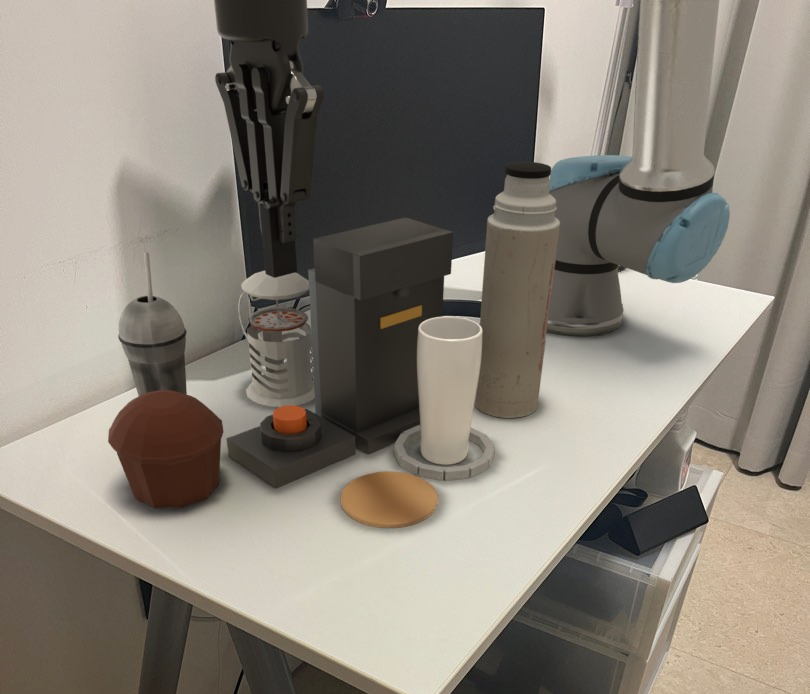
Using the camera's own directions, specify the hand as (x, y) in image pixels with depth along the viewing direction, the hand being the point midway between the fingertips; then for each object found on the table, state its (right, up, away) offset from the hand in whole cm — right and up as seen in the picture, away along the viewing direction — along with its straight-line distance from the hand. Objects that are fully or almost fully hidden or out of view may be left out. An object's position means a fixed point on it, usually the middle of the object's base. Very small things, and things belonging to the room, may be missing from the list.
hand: (281, 272), depth 81 cm
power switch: (-1, -17, +12) cm, 21 cm away
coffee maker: (+13, -14, +16) cm, 25 cm away
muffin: (-12, -21, +7) cm, 25 cm away
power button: (0, -14, +10) cm, 17 cm away
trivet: (+10, -22, +5) cm, 25 cm away
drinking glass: (+16, -17, +13) cm, 27 cm away
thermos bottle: (+25, -9, +24) cm, 35 cm away
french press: (-4, -7, +26) cm, 27 cm away
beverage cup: (-16, -13, +17) cm, 27 cm away
